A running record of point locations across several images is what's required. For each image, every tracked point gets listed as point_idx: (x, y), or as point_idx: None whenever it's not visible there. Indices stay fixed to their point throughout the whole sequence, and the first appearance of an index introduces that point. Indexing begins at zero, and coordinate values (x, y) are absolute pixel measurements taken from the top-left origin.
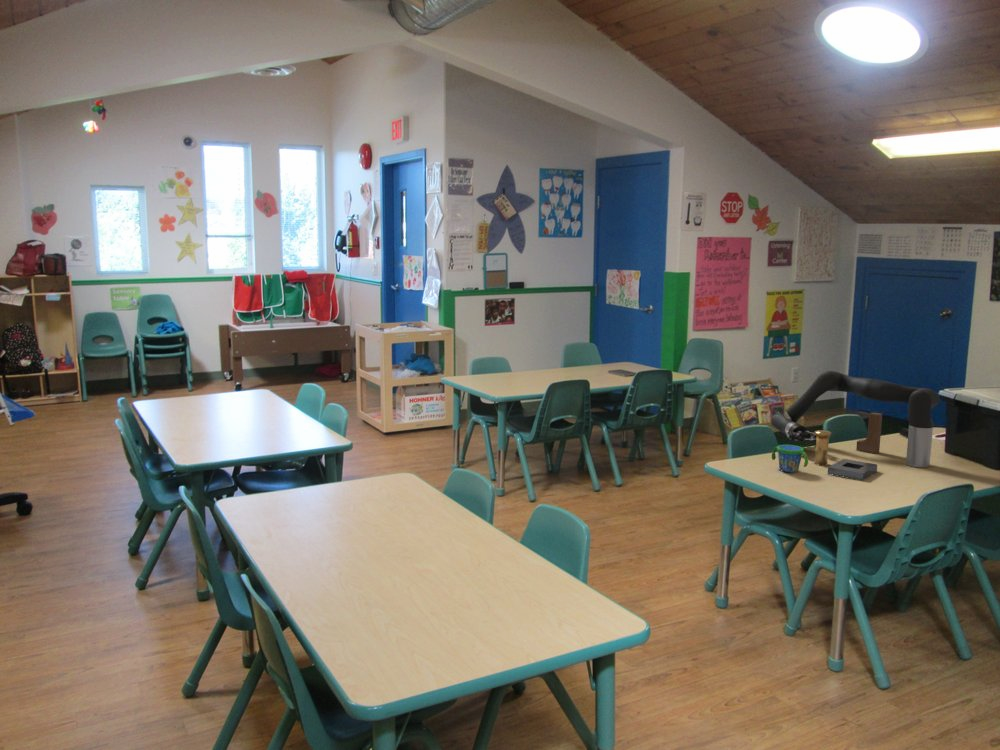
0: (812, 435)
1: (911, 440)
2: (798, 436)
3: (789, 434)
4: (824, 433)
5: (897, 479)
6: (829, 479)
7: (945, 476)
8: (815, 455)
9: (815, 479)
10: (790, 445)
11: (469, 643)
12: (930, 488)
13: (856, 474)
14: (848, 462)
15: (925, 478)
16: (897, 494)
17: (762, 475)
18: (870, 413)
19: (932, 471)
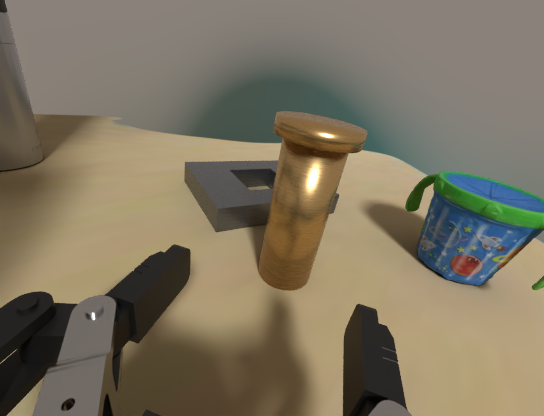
0: (112, 377)
1: (11, 73)
2: (383, 376)
3: None
4: (331, 119)
5: (206, 158)
6: (350, 198)
7: (96, 135)
8: (316, 251)
9: (384, 208)
10: (495, 202)
11: None
12: (207, 138)
13: None
14: (245, 189)
15: (148, 144)
16: None
17: (540, 269)
18: None
19: (64, 144)
